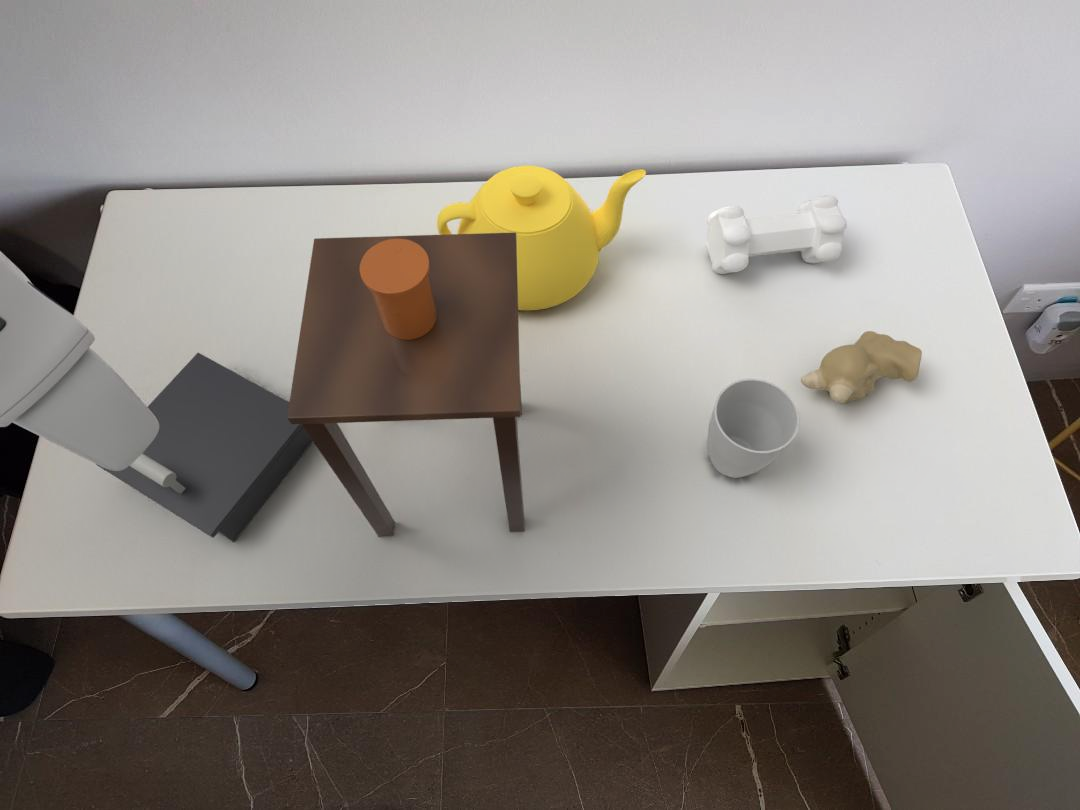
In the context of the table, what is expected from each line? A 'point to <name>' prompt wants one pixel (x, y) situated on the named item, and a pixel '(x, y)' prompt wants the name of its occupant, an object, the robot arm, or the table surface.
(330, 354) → the shelf top
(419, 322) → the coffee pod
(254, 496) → the hinged lid box
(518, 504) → the shelf legs
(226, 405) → the lid
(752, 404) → the cup
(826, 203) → the bone shaped toy
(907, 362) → the tan lumpy rounded piece
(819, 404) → the table surface
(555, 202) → the teapot
